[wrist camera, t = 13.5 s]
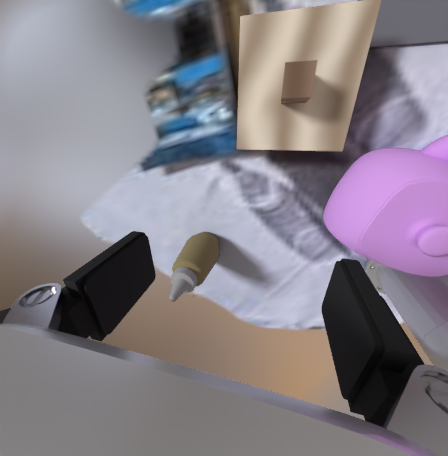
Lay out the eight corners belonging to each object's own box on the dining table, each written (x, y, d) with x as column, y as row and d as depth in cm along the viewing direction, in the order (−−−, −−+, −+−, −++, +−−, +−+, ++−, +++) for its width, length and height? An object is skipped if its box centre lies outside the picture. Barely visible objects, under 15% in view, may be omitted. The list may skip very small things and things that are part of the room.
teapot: (413, 261, 37) (486, 333, 24) (307, 221, 39) (322, 268, 26) (545, 135, 26) (818, 141, 13) (388, 85, 27) (488, 46, 14)
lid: (378, 2, 21) (410, -38, 16) (340, 150, 28) (354, 155, 23) (241, 19, 24) (231, -10, 19) (237, 148, 31) (229, 152, 26)
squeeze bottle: (220, 226, 44) (188, 279, 28) (226, 255, 47) (201, 318, 32) (188, 228, 46) (142, 278, 31) (196, 256, 50) (159, 315, 34)
